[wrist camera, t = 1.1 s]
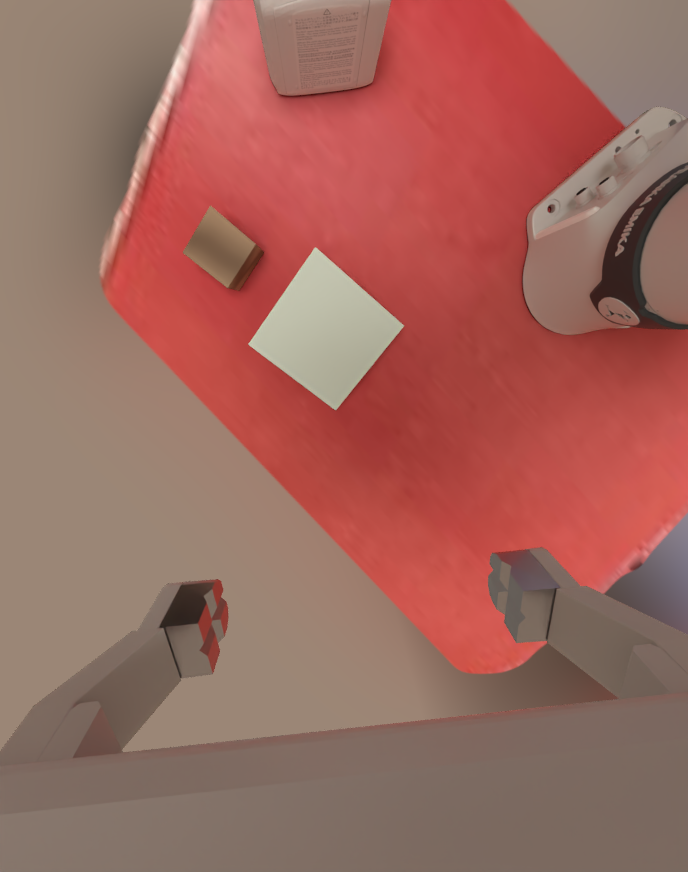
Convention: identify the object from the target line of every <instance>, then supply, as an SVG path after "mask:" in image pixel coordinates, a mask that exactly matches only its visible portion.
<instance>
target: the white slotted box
mask: <svg viewBox="0 0 688 872" xmlns="http://www.w3.org/2000/svg"><path fill="white" fill-rule="evenodd" d="M253 1H254V6H255V10H256V15H257V20H258V24H259V29H260V34H261V38H262V43H263V48H264V52H265V57H266V61H267V66H268V70H269V75H270V78H271V81H272V83H273V85H274V86H275V88H276V89H277V92H278V94H281V95H289V96H294V95H306V94H316V93H324V92H332V91H340V90H348V89H353V88H358V87H363V86H366V85H368V84H370V83H372V82H373V79H374V75H375V70H376V66H377V61H378V57H379V52H380V48H381V43H382V38H383V34H384V30H385V25H386V21H387V16H388V12H389V7H390V3H391V0H253Z"/></svg>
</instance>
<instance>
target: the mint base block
mask: <svg viewBox="0 0 688 872" xmlns="http://www.w3.org/2000/svg"><path fill="white" fill-rule="evenodd" d="M403 327H404V325H403V324H402V323H400V322H399V321H398V320H397V319H396V318H395V317H394V316H393V315H391V314H390V313H389V312H388V311H387V310H386V309H385V308H384V307H382V306H381V305H380V304H379V303H378V302H377V301H376V300H375V299H373V298H372V297H371V296H370V295H369V294H368V293H367V292H366V291H364V290H363V289H362V288H361V287H360V286H359V285H358V284H356V283H355V282H354V281H353V280H352V279H351V278H350V277H349V276H347V275H346V274H345V273H344V272H343V271H342V270H341V269H340V268H338V267H337V266H336V265H335V264H334V263H333V262H332V261H331V260H329V259H328V258H327V257H326V256H325V255H324V254H323V253H322V252H320V251H319V250H318V249H317V248H316V247H315V248H314V250H313V251H312V253H311V254H310V256H309V257H308V258H307V260H306V261H305V263H304V264H303V266H302V267H301V269H300V270H299V272H298V273H297V274H296V276H295V277H294V279H293V280H292V282H291V283H290V285H289V286H288V287H287V289H286V290H285V292H284V293H283V295H282V296H281V298H280V299H279V300H278V302H277V303H276V305H275V306H274V308H273V309H272V311H271V312H270V314H269V315H268V316H267V318H266V319H265V321H264V322H263V324H262V325H261V327H260V328H259V329H258V331H257V332H256V334H255V335H254V337H253V338H252V340H251V341H250V342H249V344H248V345H249V346H251V347H252V348H253V349H255V350H256V351H257V352H259V353H260V354H261V355H263V356H264V357H265V358H267V359H268V360H269V361H271V362H272V363H273V364H275V365H276V366H277V367H279V368H280V369H281V370H283V371H284V372H285V373H287V374H288V375H289V376H291V377H292V378H293V379H295V380H296V381H297V382H299V383H300V384H301V385H303V386H304V387H305V388H307V389H308V390H309V391H310V392H312V393H313V394H314V395H316V396H317V397H318V398H320V399H321V400H322V401H324V402H325V403H326V404H328V405H329V406H330V407H332V408H333V409H334V410H336V409H337V408H338V407H339V406H340V405H341V403H342V402H343V401H344V400H345V398H346V397H347V396H348V395H349V393H350V392H351V391H352V390H353V389H354V387H355V386H356V385H357V384H358V382H359V381H360V380H361V379H362V377H363V376H364V375H365V374H366V372H367V371H368V370H369V369H370V368H371V366H372V365H373V364H374V363H375V361H376V360H377V359H378V358H379V356H380V355H381V354H382V353H383V351H384V350H385V349H386V348H387V347H388V345H389V344H390V343H391V342H392V340H393V339H394V338H395V337H396V335H397V334H398V333H399V332H400V331H401V329H402V328H403Z"/></svg>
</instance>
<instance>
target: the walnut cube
mask: <svg viewBox="0 0 688 872" xmlns="http://www.w3.org/2000/svg"><path fill="white" fill-rule="evenodd" d="M183 253H184V254H185V255H186V256H188V257H189V258H190V259H191V260H193V261H194V262H195V263H197V264H198V265H199V266H200V267H202V268H203V269H204V270H205V271H207V272H208V273H209V274H210V275H212V276H213V277H214V278H216V279H217V280H218V281H219V282H221V283H222V284H223V285H224V286H226V287H227V288H230V289H234V290H238V291H239V290H240V289H241V287H242V286H243V284H244V283H245V281H246V280H247V278H248V277H249V275H250V274H251V272H252V271H253V269H254V267H255V266H256V264H257V263H258V261H259V260H260V258H261V257H262V255H263V254H264V252H263V251H262V250H261V249H260V248H259V247H258V246H257V245H256V244H255V243H254V242H253V241H252V240H250V239H249V238H248V237H247V236H246V235H245V234H243V233H242V232H241V231H240V230H239V229H237V228H236V227H235V226H234V225H233V224H232V223H230V222H229V221H228V220H227V219H226V218H224V217H223V216H222V215H221V214H220V213H218V212H217V211H216V210H215V209H214V208H213V207H211V206H210V207H209V209H208V211H207V212H206V214H205V216H204V217H203V219H202V221H201V222H200V224H199V226H198V228H197V229H196V231H195V233H194V234H193V236H192V238H191V239H190V241H189V243H188V244H187V246H186V248H185V250H184V251H183Z"/></svg>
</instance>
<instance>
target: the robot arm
mask: <svg viewBox="0 0 688 872" xmlns="http://www.w3.org/2000/svg"><path fill="white" fill-rule="evenodd" d="M669 124H670V127H668V125H669ZM548 206H550V207H551V213H548V211H547V209H548ZM527 234H528V242H529V246H528V252H527V257H526V261H525V265H524V271H523V291H524V296H525V300H526V303H527V306H528V308H529V310H530V312H531V313H532V315H533V316H534V318H535V319H536V320H537V321H538V322H539V323H540V324H541V325H542V326H544V327H545V328H547V329H549V330H551V331H553V332H556V333H559V334H565V335H576V334H583V333H587V332H591V331H595V330H601V329H608V328H618V329H620V328H630V327H637V328H646V329H688V118H686V117H685V116H683V115H681V114H680V113H678V112H676V111H674V110H672V109H669V108H664V107H654V108H652V109H650V110H648V111H646V112H644V113H643V114H642V115H640V116H639V117H638V118H637V119H636V120H634V121H633V122H632V123H631V124H630V125H629V126H627V127H626V128H625V129H624V130H623V131H622V132H620V133H619V134H618V135H617V136H616V137H615V138H613V139H612V140H611V141H610V142H609V143H608V144H606V145H605V146H604V147H603V148H602V149H601V150H599V151H598V152H597V153H596V154H595V155H594V156H593V157H591V158H590V159H589V160H588V161H587V162H586V163H584V164H583V165H582V166H581V167H580V168H579V169H577V170H576V171H575V172H574V173H573V174H572V175H570V176H569V177H568V178H567V179H566V180H565V181H563V182H562V183H561V184H560V185H559V186H558V187H556V188H555V189H554V190H553V191H552V192H551V193H550V194H548V195H547V196H546V197H545V198H544V199H543V200H541V201H540V202H539V203H538V204H537V205H536V206H534V207H533V208H532V209H531V211H530V212H529V214H528V217H527ZM490 565H491V567H492V568H493V571H492V572H491V573H490V575H489V576H488V587H489V593H490V596H491V599H492V601H493V603H494V605H495V607H496V609H497V610H499V611H500V612H502V613H503V614H505V620H504V623H505V624H506V626H507V628H508V630H509V631H510V633H511V635H512V636H513V638H514V640H515V641H516V643H523V642H536V641H547V643H549V644H550V645H551V646H552V647H554V648H555V649H557V650H558V651H559V652H560V653H562V654H563V655H564V656H565V657H567V658H568V659H569V660H571V661H572V662H573V663H575V664H576V665H577V666H578V667H579V668H581V669H582V670H583V671H585V672H586V673H587V674H589V675H590V676H591V677H593V678H594V679H595V680H596V681H597V682H599V683H600V684H601V685H603V686H604V687H605V688H607V689H608V690H609V691H610V692H612V693H613V694H614V695H616V696H617V697H618V699H616V700H607V701H597V702H588V703H579V704H569V705H560V706H550V707H541V708H532V709H523V710H513V711H505V712H495V713H486V714H477V715H468V716H459V717H449V718H440V719H431V720H421V721H413V722H403V723H393V724H384V725H375V726H365V727H356V728H347V729H338V730H328V731H319V732H309V733H300V734H291V735H281V736H273V737H263V738H255V739H254V738H253V739H245V740H236V741H226V742H216V743H207V744H198V745H188V746H180V747H170V748H161V749H151V750H142V751H133V752H123V751H122V749H123V748H124V747H125V746H126V744H127V743H128V742H129V741H130V740H131V738H132V737H133V736H134V735H135V734H136V733H137V731H138V730H139V729H140V728H141V727H142V725H143V724H144V723H145V722H146V721H147V720H148V719H149V717H150V716H151V715H152V714H153V713H154V711H155V710H156V709H157V708H158V707H159V706H160V704H161V703H162V702H163V701H164V700H165V699H166V697H167V696H168V695H169V694H170V693H171V692H172V690H173V689H174V688H175V687H176V686H177V685H178V683H179V682H180V681H181V678H187V677H195V676H202V675H210V674H213V672H214V669H215V665H216V662H217V659H218V656H219V653H220V649H219V645H218V643H219V642H220V641H221V639H223V638H224V636H225V633H226V630H227V624H228V607H227V603H226V601H225V600H224V599H223V598H221V595H222V592H223V587H222V584H221V581H220V580H218V579H216V580H202V581H189V582H179V583H168V584H166V585H165V586H164V587H163V588H162V590H161V591H160V593H159V595H158V596H157V598H156V600H155V602H154V603H153V605H152V607H151V608H150V610H149V612H148V613H147V615H146V617H145V619H144V620H143V622H142V624H141V625H140V627H139V629H138V630H137V631H131V632H130V633H129V634H128V635H126V636H125V637H124V638H122V639H121V640H120V641H118V642H117V643H116V644H114V645H113V646H112V647H111V648H109V649H108V650H106V651H105V652H104V653H102V654H101V655H100V656H99V657H97V658H96V659H95V660H93V661H92V662H91V663H90V664H88V665H87V666H86V667H84V668H83V669H81V670H80V671H79V672H78V673H76V674H75V675H74V676H72V677H71V678H70V679H68V680H67V681H66V682H64V683H63V684H62V685H60V686H59V687H58V688H57V689H55V690H54V691H53V692H51V693H50V694H49V695H47V696H46V697H45V698H43V699H42V700H41V701H39V702H38V703H37V704H36V705H34V706H33V707H32V709H31V710H30V711H29V713H28V714H27V716H26V717H25V718H24V720H23V721H22V722H21V724H20V725H19V726H18V728H17V729H16V730H15V732H14V733H13V735H12V736H11V737H10V738H9V740H8V741H7V743H6V744H5V745H4V747H3V748H2V749H1V751H0V872H688V635H686V634H685V633H682V632H680V631H678V630H676V629H674V628H672V627H670V626H668V625H666V624H664V623H662V622H660V621H657V620H655V619H654V618H651V617H649V616H647V615H645V614H643V613H641V612H639V611H637V610H635V609H633V608H631V607H629V606H627V605H625V604H623V603H620V602H618V601H616V600H614V599H612V598H610V597H608V596H606V595H604V594H602V593H600V592H598V591H596V590H594V589H591V588H589V587H587V586H580V585H579V584H578V583H577V582H576V581H575V580H574V579H573V577H572V576H571V575H570V574H569V573H568V572H567V571H566V570H565V569H564V568H563V567H562V566H561V565H560V564H559V563H558V561H557V560H556V559H555V558H554V557H553V556H552V555H551V554H550V553H549V552H548V551H547V550H546V549H544V548H542V547H540V548H531V549H525V550H516V551H506V552H496V553H492V554H491V557H490Z"/></svg>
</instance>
